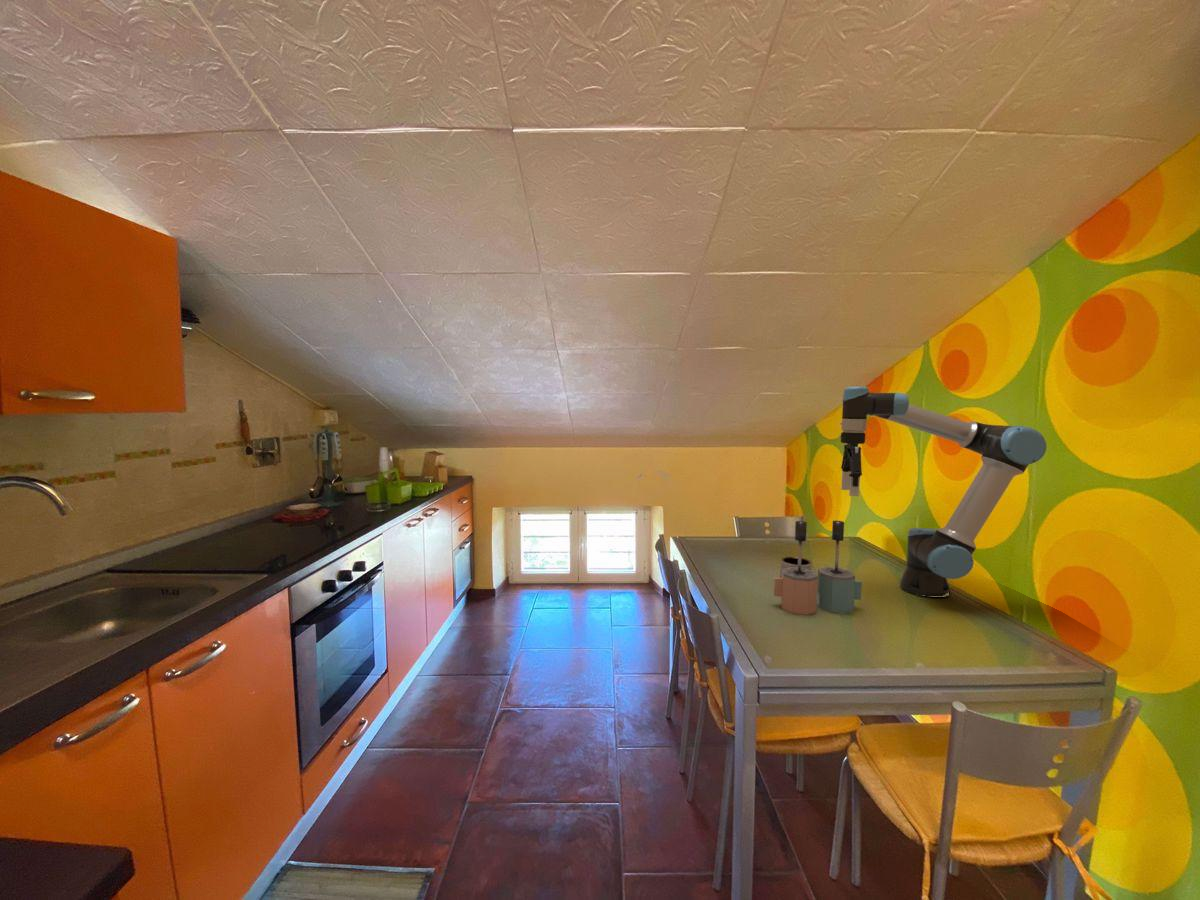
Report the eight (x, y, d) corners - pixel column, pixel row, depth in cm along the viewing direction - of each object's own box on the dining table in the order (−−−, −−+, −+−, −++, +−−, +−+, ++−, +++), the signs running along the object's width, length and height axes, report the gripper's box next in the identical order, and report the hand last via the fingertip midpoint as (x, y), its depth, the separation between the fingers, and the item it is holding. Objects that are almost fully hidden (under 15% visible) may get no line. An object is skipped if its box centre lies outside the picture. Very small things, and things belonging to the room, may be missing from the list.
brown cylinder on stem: (809, 577, 160) (812, 520, 159) (814, 586, 153) (816, 525, 151) (784, 575, 163) (786, 518, 161) (787, 583, 155) (789, 523, 153)
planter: (805, 581, 184) (806, 556, 183) (815, 591, 173) (816, 565, 172) (776, 580, 185) (777, 555, 184) (784, 590, 174) (785, 564, 173)
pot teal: (855, 603, 162) (857, 569, 161) (864, 615, 152) (865, 579, 151) (815, 599, 165) (816, 565, 165) (820, 611, 155) (822, 575, 155)
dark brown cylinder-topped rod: (846, 577, 161) (848, 519, 160) (852, 585, 154) (854, 525, 152) (820, 575, 163) (822, 518, 162) (825, 583, 156) (827, 523, 154)
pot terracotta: (812, 603, 162) (813, 569, 161) (817, 615, 152) (819, 579, 151) (772, 599, 165) (773, 565, 164) (775, 611, 155) (776, 575, 154)
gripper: (834, 430, 177) (831, 486, 179) (848, 432, 153) (844, 498, 155) (857, 431, 175) (853, 488, 176) (875, 433, 151) (870, 499, 153)
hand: (849, 492), depth 166 cm, fingers open, 13 cm apart
